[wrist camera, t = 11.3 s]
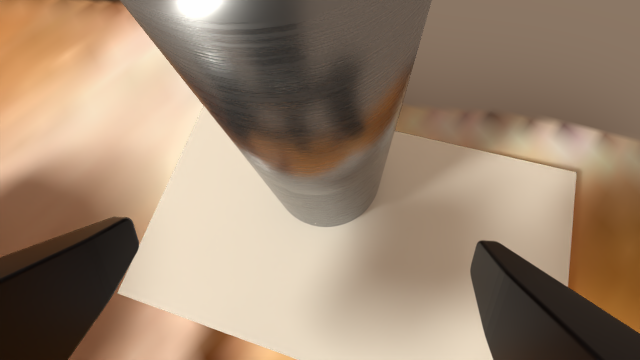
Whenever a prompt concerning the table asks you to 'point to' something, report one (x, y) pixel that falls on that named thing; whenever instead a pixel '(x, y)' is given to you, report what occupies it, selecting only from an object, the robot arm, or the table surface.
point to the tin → (298, 87)
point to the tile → (348, 250)
